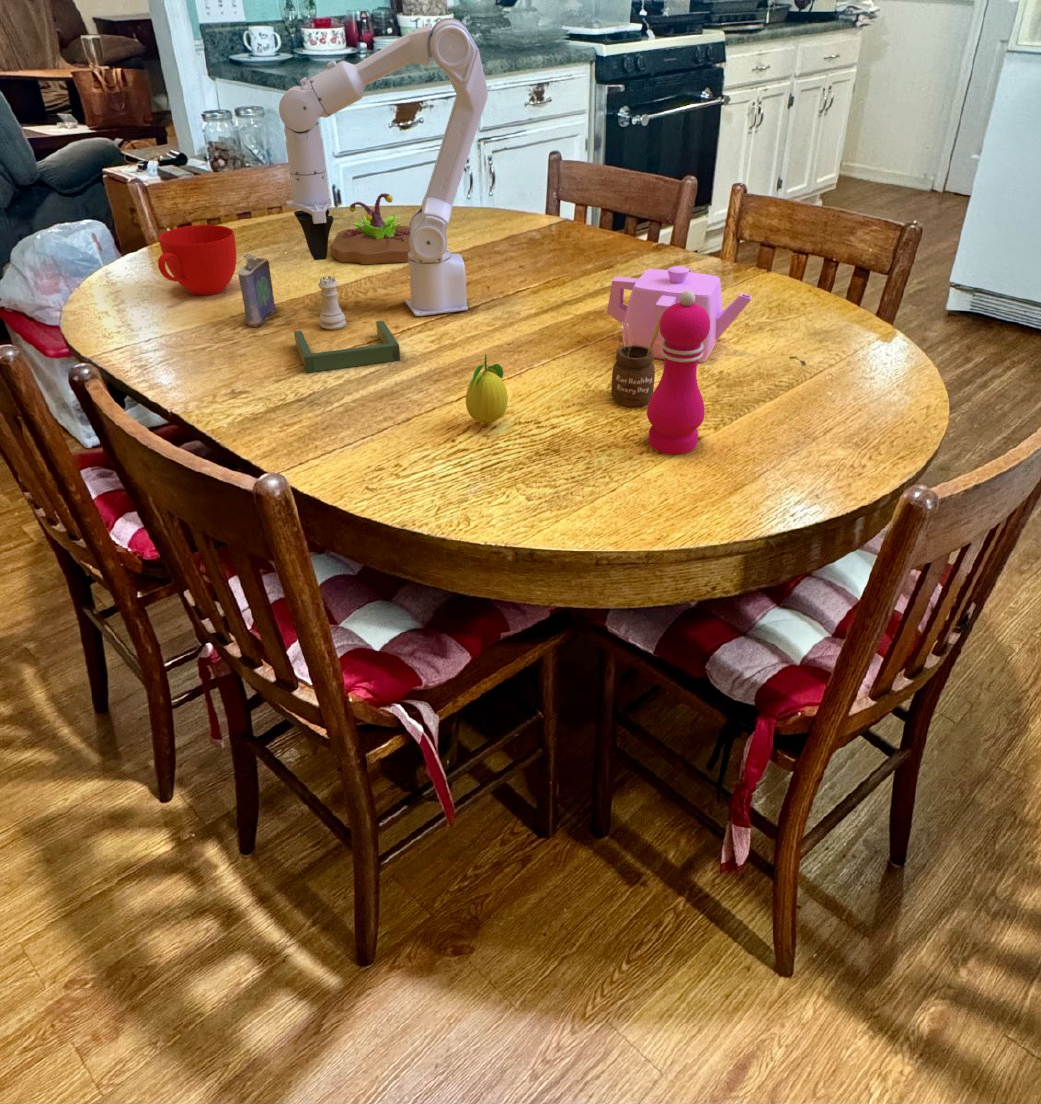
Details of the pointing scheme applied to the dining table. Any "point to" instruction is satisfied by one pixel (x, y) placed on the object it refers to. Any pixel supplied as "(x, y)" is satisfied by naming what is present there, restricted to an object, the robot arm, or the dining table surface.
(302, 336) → the bay
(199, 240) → the ceramic cup
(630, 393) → the utensil holder
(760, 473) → the dining table surface
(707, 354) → the teakettle
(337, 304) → the rook chess piece
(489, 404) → the lemon
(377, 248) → the plant
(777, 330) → the dining table surface
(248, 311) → the flask
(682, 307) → the pepper mill
